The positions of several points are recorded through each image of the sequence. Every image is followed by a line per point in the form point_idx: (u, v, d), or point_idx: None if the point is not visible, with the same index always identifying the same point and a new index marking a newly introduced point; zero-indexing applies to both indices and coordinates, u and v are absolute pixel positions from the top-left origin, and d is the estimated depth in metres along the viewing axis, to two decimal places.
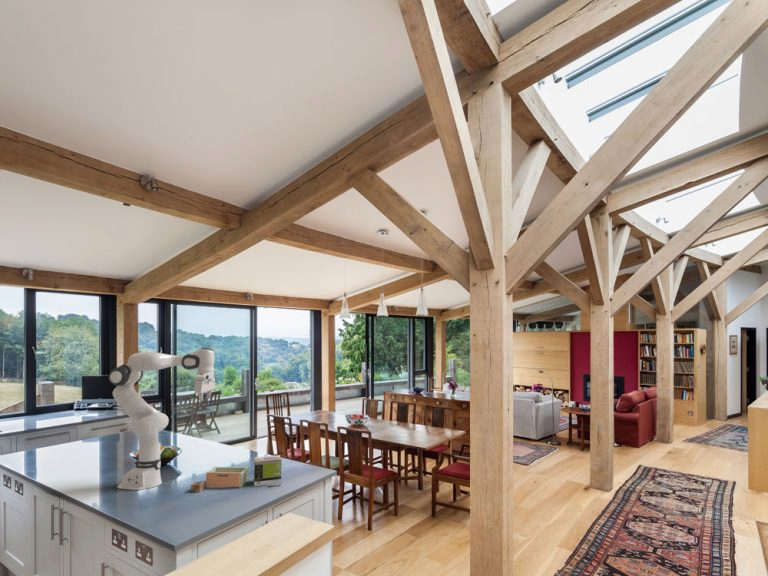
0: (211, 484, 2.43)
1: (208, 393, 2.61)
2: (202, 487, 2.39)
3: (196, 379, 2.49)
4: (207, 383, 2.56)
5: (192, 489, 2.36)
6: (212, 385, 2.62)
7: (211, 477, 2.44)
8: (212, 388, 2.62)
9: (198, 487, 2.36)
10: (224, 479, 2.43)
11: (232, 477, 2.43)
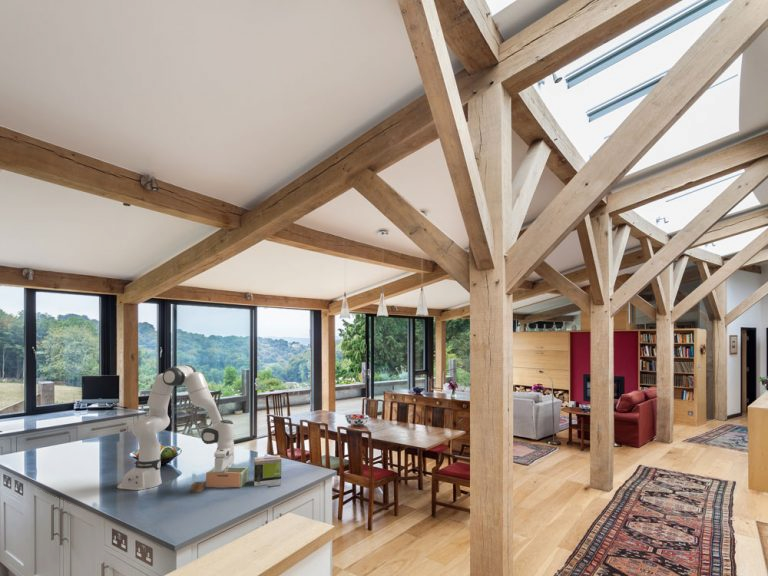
0: (211, 484, 2.43)
1: None
2: (202, 487, 2.39)
3: (216, 456, 2.39)
4: (227, 458, 2.46)
5: (192, 489, 2.36)
6: (231, 458, 2.52)
7: (211, 477, 2.44)
8: (232, 462, 2.52)
9: (198, 487, 2.36)
10: (224, 479, 2.43)
11: (232, 477, 2.43)
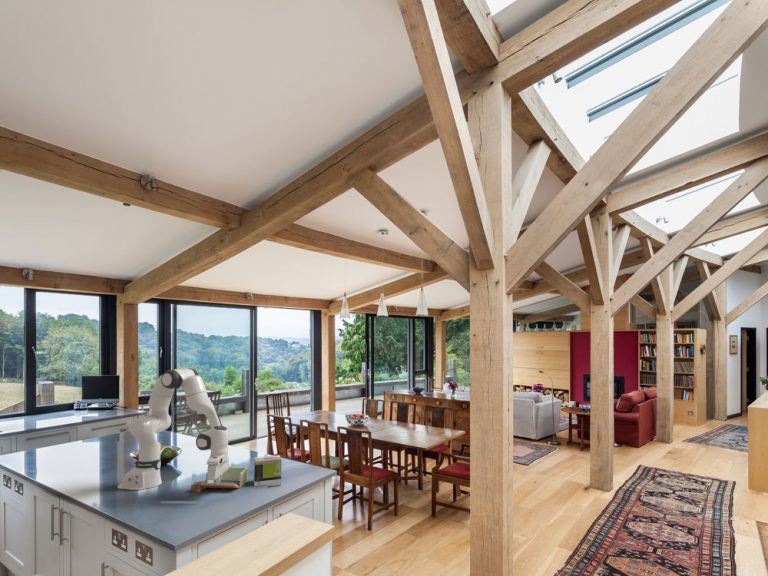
0: (210, 487, 2.42)
1: (218, 477, 2.38)
2: (202, 487, 2.39)
3: (209, 464, 2.30)
4: (221, 466, 2.37)
5: (192, 489, 2.36)
6: (225, 466, 2.43)
7: (207, 486, 2.39)
8: (226, 469, 2.43)
9: (198, 487, 2.36)
10: (221, 486, 2.39)
11: (229, 486, 2.38)
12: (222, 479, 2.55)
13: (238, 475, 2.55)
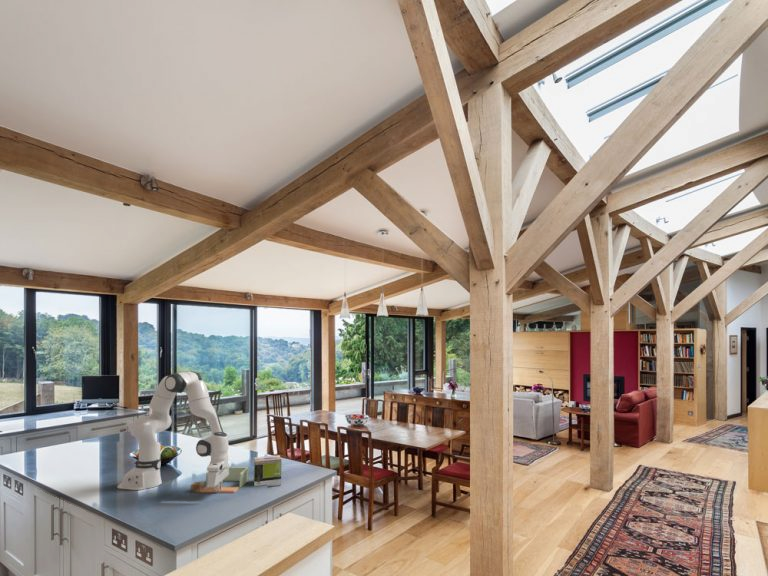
0: None
1: (219, 483, 2.39)
2: (202, 487, 2.39)
3: (209, 470, 2.29)
4: (221, 472, 2.37)
5: (192, 489, 2.36)
6: (226, 472, 2.43)
7: None
8: (226, 475, 2.43)
9: (198, 487, 2.36)
10: None
11: None
12: None
13: (238, 475, 2.55)
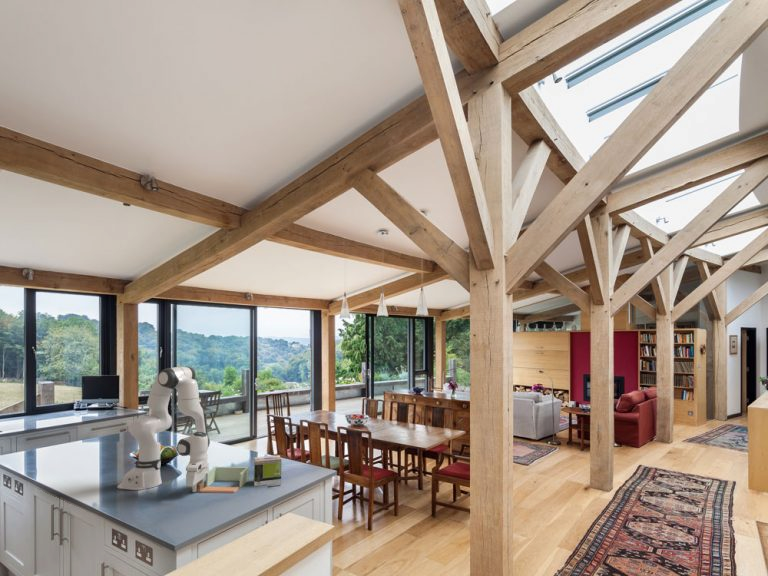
0: None
1: (200, 481, 2.43)
2: (202, 487, 2.39)
3: (188, 470, 2.31)
4: (200, 472, 2.39)
5: (192, 489, 2.36)
6: (205, 471, 2.45)
7: None
8: (205, 475, 2.45)
9: (199, 487, 2.36)
10: None
11: None
12: (222, 479, 2.55)
13: (238, 475, 2.55)
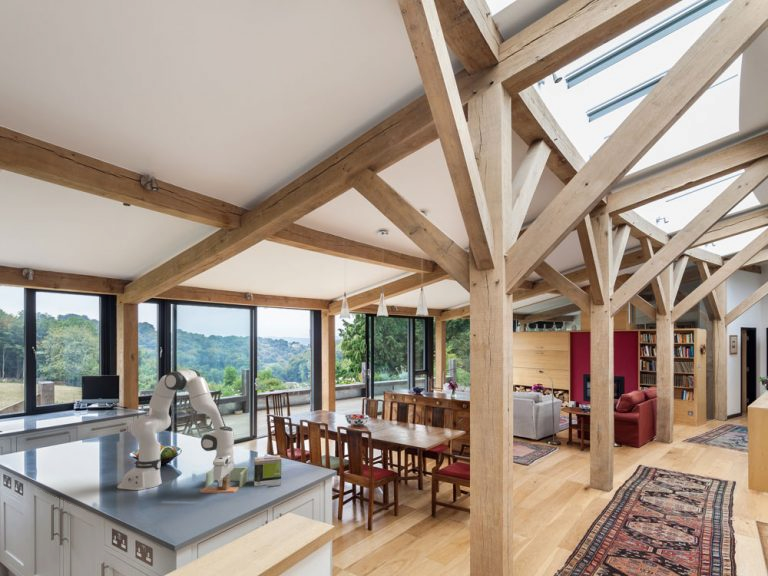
0: None
1: (226, 475, 2.45)
2: (228, 483, 2.40)
3: (215, 464, 2.32)
4: (226, 466, 2.40)
5: None
6: (231, 466, 2.46)
7: None
8: (231, 469, 2.46)
9: (225, 482, 2.37)
10: None
11: None
12: None
13: (238, 475, 2.55)
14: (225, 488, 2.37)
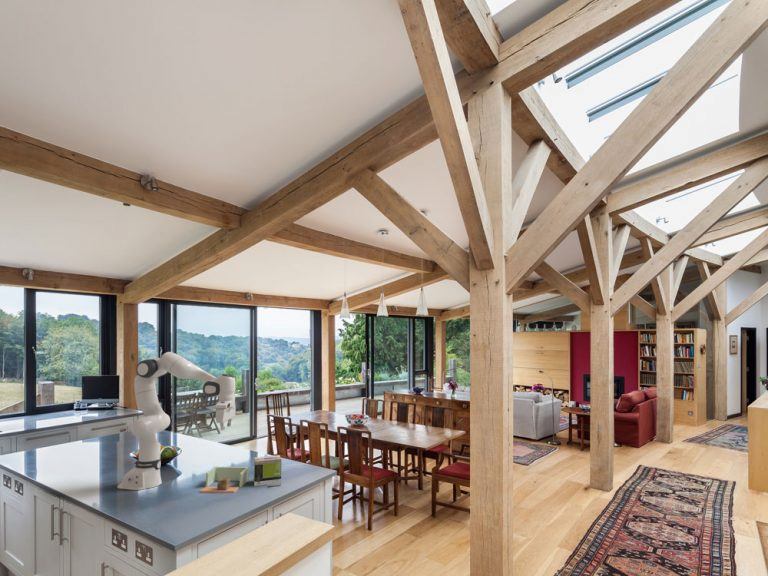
0: None
1: (229, 421, 2.53)
2: (228, 483, 2.40)
3: (217, 408, 2.41)
4: (228, 411, 2.48)
5: (219, 484, 2.37)
6: (232, 412, 2.54)
7: None
8: (233, 416, 2.54)
9: (225, 482, 2.37)
10: None
11: None
12: None
13: (238, 475, 2.55)
14: (225, 488, 2.37)
